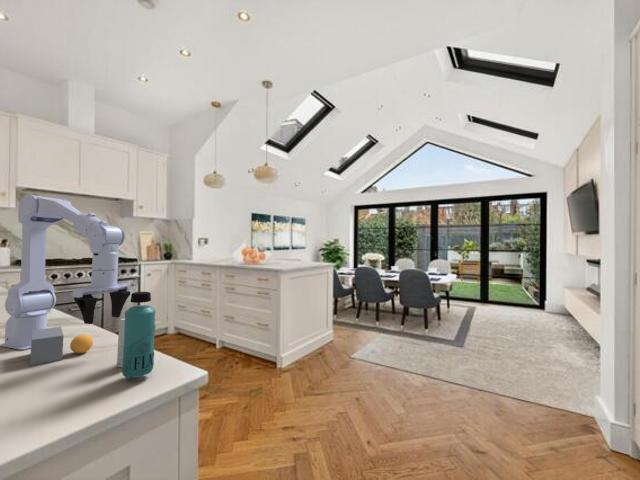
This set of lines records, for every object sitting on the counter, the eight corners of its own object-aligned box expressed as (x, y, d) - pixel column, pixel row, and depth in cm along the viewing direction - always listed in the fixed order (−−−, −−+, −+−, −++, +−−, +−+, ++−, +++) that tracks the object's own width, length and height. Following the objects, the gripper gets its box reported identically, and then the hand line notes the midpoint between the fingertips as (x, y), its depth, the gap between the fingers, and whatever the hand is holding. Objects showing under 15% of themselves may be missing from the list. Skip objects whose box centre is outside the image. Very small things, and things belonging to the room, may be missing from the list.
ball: (65, 354, 82) (66, 336, 82) (83, 348, 87) (84, 331, 87) (78, 357, 81) (79, 338, 81) (96, 351, 86) (97, 333, 86)
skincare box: (130, 369, 74) (132, 320, 75) (116, 367, 75) (118, 319, 75) (149, 360, 80) (151, 315, 81) (135, 358, 81) (137, 314, 81)
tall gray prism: (30, 353, 82) (31, 330, 82) (59, 349, 86) (60, 326, 86) (30, 365, 74) (31, 339, 75) (62, 359, 79) (63, 335, 79)
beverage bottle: (129, 387, 65) (134, 295, 66) (115, 379, 69) (119, 292, 69) (159, 376, 71) (163, 292, 71) (144, 369, 74) (147, 289, 75)
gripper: (88, 272, 73) (86, 328, 73) (139, 268, 87) (137, 315, 87) (67, 271, 75) (65, 325, 75) (120, 267, 89) (118, 313, 89)
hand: (102, 320), depth 81 cm, fingers open, 7 cm apart
